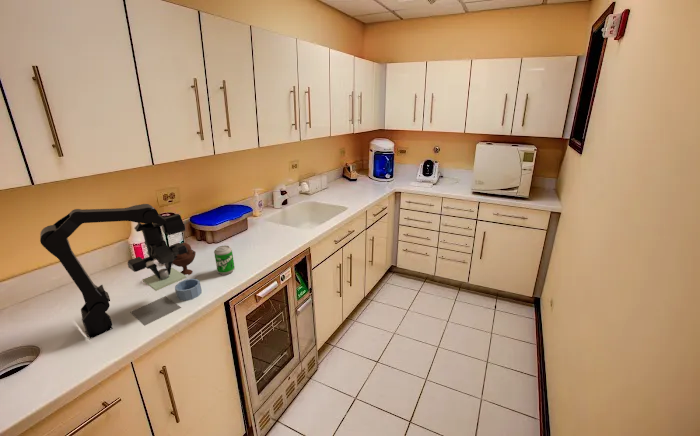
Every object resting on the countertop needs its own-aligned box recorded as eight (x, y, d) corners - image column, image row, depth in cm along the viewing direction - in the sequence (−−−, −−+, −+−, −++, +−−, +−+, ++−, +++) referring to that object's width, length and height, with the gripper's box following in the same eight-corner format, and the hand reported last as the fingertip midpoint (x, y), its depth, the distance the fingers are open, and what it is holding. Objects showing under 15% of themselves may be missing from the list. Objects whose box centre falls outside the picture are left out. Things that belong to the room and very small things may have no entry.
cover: (155, 291, 115) (153, 281, 114) (143, 281, 121) (140, 272, 120) (186, 277, 123) (184, 268, 122) (172, 269, 129) (170, 260, 128)
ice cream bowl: (191, 265, 156) (185, 236, 151) (203, 272, 149) (197, 242, 144) (168, 274, 148) (161, 244, 143) (180, 282, 141) (173, 251, 136)
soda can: (218, 269, 152) (214, 246, 148) (235, 266, 154) (231, 243, 150) (217, 276, 145) (213, 252, 141) (234, 274, 147) (231, 250, 143)
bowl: (184, 304, 126) (181, 293, 124) (173, 296, 131) (170, 285, 129) (206, 293, 132) (204, 283, 131) (194, 286, 138) (192, 276, 136)
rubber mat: (144, 327, 114) (144, 325, 113) (130, 313, 121) (129, 311, 121) (181, 308, 123) (181, 307, 123) (166, 297, 131) (165, 295, 130)
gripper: (134, 254, 105) (146, 295, 110) (190, 235, 118) (198, 272, 124) (121, 246, 111) (133, 285, 117) (176, 228, 125) (184, 264, 130)
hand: (164, 276), depth 122 cm, fingers closed on cover, 3 cm apart
